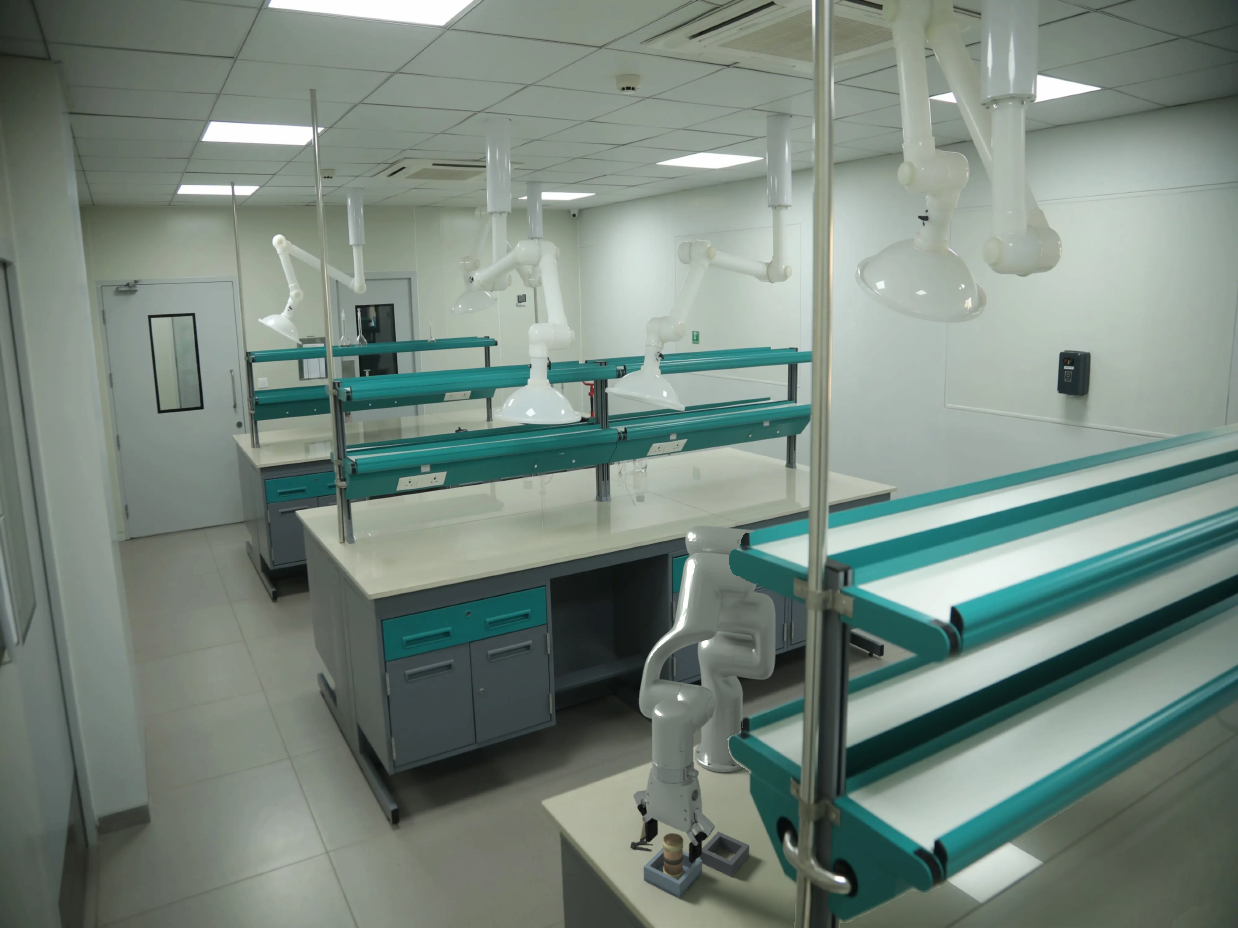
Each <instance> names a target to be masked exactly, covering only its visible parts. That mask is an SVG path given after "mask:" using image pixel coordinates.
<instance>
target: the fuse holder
mask: <svg viewBox="0 0 1238 928" xmlns="http://www.w3.org/2000/svg"><path fill="white" fill-rule="evenodd" d="M719 849H723V850H726V851H728V852H729V853H732V854H733V856H732V857H731V858H730V859H727V858H726V857H723V856H721V855H720V854H719V855H718V854H717V853H716V852H717V851H718V850H719ZM749 857H750V845H749V844H747V843H745V842H743V841H740V840H738V839H736V838H734V837H731V836H729V835H727V834H725V833H723V832H720V831H717V832H716V833H715V834H714V835H713V837H712V838H711V839H710V840H709V841H708V842H707V843H706V844H705V845H704V846H702V854H701V856H700V857H699V859H701V860H702V865H706V866H708V867H709V868H711V869H715V870H716V871H718V872H721V873H722V874H724V875H726V876H729V877H731V878H732V877H733V876H734V875H735V873H736V872H737V871H738V870H739V869H740V868H741V866H742V865H743V864H744V863H745V862H746V861H747V859H749Z"/></svg>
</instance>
